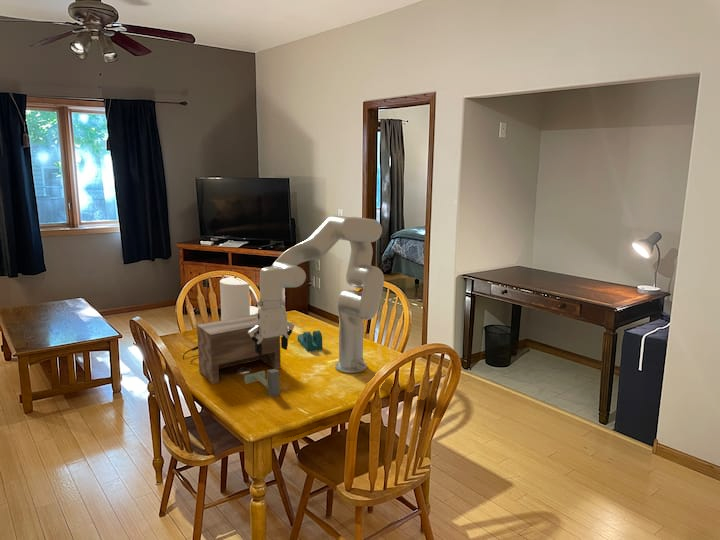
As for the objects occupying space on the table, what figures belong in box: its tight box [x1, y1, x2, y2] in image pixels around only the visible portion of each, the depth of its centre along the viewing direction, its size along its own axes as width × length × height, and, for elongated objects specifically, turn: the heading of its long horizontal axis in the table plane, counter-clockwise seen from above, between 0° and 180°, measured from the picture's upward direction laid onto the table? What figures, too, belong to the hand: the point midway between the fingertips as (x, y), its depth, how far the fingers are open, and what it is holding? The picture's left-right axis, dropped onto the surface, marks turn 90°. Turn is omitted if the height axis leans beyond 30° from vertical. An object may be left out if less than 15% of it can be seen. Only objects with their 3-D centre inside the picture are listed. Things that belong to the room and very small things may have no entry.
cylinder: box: [219, 276, 259, 321], centre depth 243 cm, size 17×17×28 cm
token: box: [236, 367, 251, 376], centre depth 210 cm, size 5×5×1 cm
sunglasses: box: [182, 345, 199, 363], centre depth 224 cm, size 10×12×5 cm
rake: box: [243, 368, 281, 398], centre depth 195 cm, size 17×8×9 cm, turn 36°
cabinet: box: [196, 314, 282, 385], centre depth 210 cm, size 14×28×19 cm, turn 126°
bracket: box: [297, 330, 323, 353], centre depth 241 cm, size 18×7×8 cm, turn 23°
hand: (271, 351), depth 187 cm, fingers open, 9 cm apart
